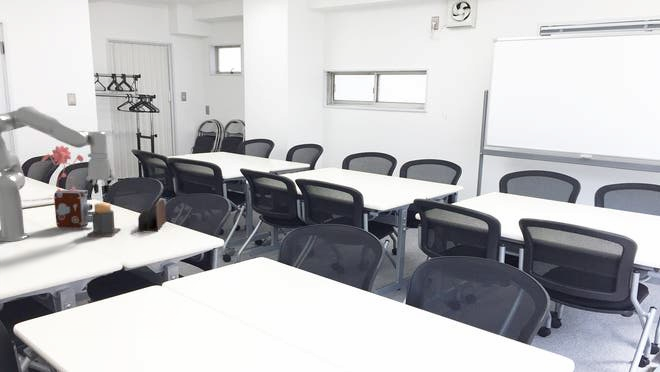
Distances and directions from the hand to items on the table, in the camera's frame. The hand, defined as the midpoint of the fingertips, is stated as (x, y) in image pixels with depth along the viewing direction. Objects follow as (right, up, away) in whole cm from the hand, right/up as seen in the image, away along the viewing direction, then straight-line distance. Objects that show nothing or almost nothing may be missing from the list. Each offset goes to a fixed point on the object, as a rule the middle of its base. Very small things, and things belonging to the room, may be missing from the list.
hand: (101, 192), depth 254 cm
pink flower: (-70, -4, +98) cm, 121 cm away
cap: (0, -13, +2) cm, 13 cm away
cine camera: (-20, -19, +16) cm, 32 cm away
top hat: (0, -21, +4) cm, 21 cm away
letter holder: (+19, -19, +18) cm, 33 cm away
